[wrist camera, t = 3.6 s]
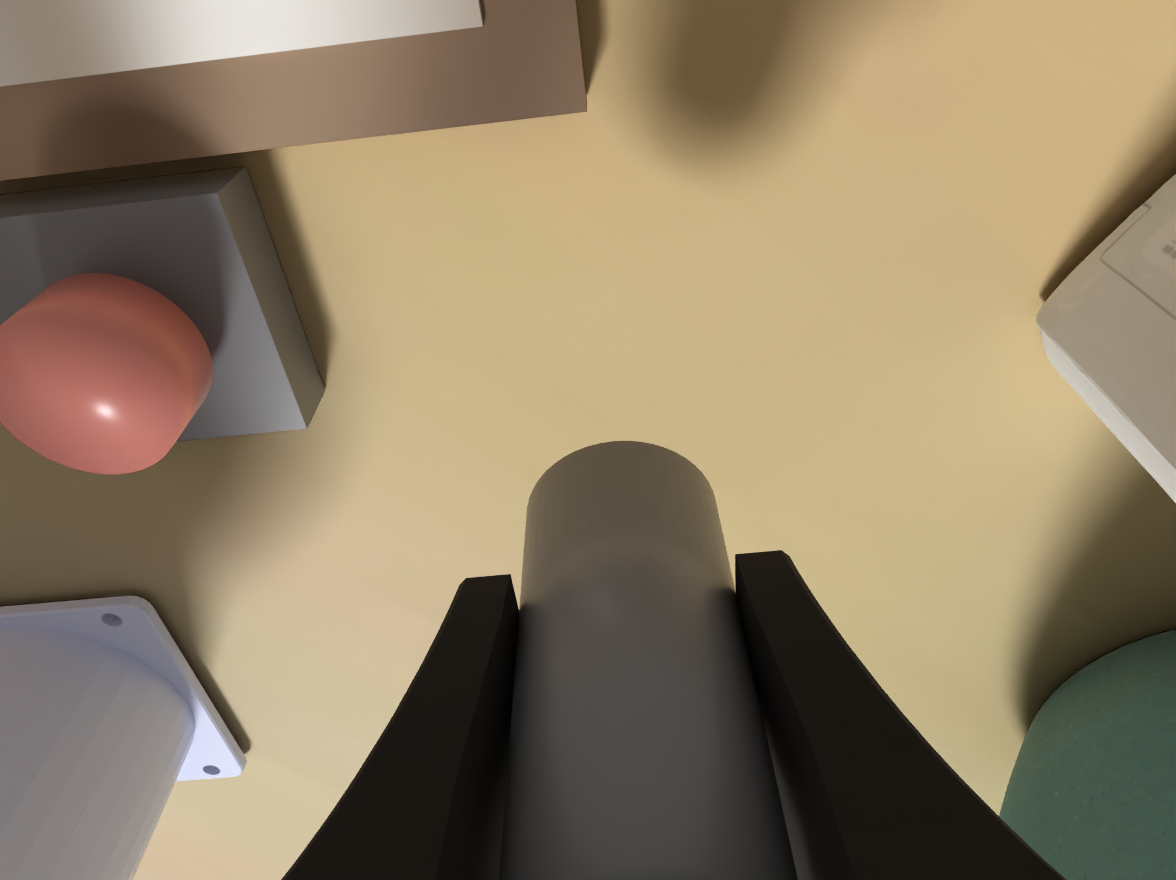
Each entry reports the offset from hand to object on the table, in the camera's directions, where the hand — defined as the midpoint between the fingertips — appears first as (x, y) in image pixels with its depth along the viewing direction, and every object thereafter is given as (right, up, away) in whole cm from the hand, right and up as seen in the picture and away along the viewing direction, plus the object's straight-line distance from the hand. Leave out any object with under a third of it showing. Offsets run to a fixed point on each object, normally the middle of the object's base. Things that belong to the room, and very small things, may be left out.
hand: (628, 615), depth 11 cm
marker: (0, +1, +2) cm, 2 cm away
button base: (-9, +5, +6) cm, 12 cm away
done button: (-9, +4, +4) cm, 11 cm away
